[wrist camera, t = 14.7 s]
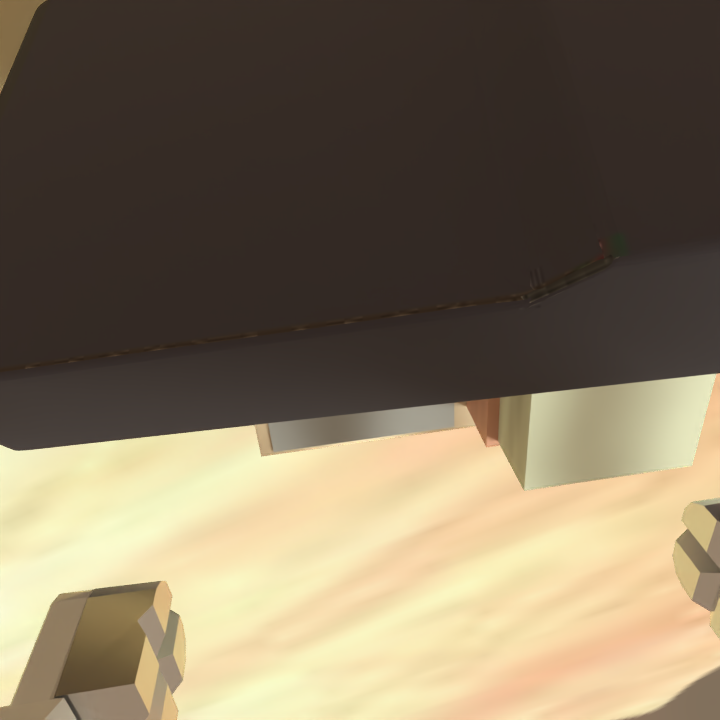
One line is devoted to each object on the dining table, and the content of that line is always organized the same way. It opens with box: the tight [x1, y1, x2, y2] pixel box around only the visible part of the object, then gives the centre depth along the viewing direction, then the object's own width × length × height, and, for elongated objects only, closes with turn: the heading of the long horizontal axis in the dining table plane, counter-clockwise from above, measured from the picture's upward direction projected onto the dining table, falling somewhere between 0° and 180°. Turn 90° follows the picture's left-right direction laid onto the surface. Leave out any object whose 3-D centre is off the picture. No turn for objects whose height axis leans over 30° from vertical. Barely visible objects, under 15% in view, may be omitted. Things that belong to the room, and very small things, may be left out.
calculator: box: [0, 0, 720, 451], centre depth 12 cm, size 11×4×15 cm
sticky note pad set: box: [255, 374, 716, 491], centre depth 18 cm, size 15×13×7 cm
